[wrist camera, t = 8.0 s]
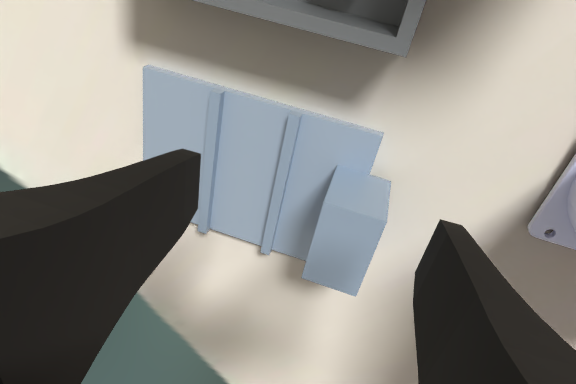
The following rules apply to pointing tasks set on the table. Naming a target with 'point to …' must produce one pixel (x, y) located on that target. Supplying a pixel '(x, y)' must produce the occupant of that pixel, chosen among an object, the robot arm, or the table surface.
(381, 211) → the lid
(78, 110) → the table surface
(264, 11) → the tub
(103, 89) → the table surface
